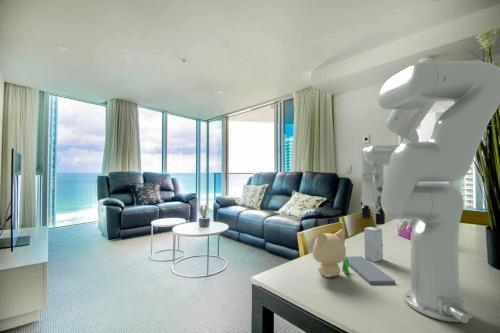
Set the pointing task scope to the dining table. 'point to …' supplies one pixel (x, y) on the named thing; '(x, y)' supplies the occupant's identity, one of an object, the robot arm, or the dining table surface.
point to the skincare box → (373, 243)
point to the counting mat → (368, 271)
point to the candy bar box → (406, 227)
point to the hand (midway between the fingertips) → (372, 221)
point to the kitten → (330, 253)
